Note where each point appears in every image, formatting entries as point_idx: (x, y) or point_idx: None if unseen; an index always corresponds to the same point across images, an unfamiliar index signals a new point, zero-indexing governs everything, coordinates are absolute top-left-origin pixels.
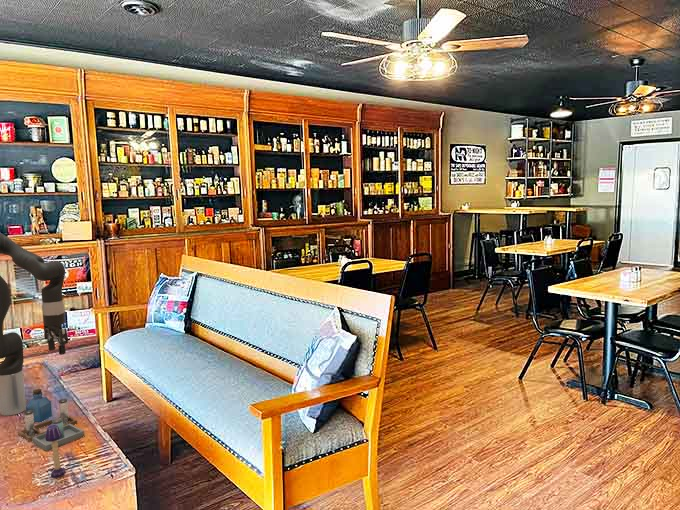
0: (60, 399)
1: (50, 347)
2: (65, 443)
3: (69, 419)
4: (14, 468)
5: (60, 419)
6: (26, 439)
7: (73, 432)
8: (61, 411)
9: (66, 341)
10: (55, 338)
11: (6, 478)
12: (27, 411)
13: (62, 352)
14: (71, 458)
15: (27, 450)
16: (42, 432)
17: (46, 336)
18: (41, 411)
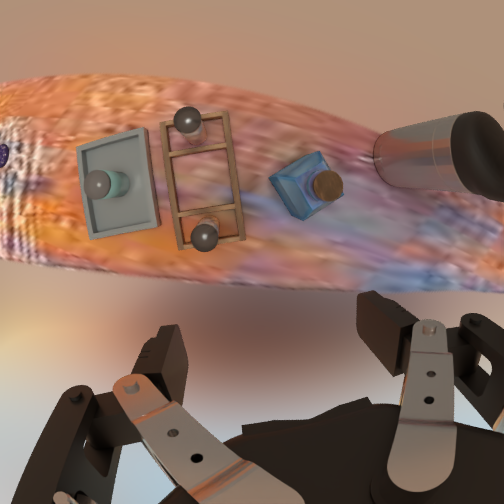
0: (217, 233)
1: (371, 312)
2: None
3: None
4: (67, 88)
5: (91, 193)
6: None
7: (123, 222)
8: (199, 222)
9: (92, 443)
10: (148, 427)
11: (47, 77)
12: (190, 116)
13: (148, 349)
14: (28, 186)
15: (120, 114)
16: (167, 156)
17: (474, 342)
18: (278, 183)
